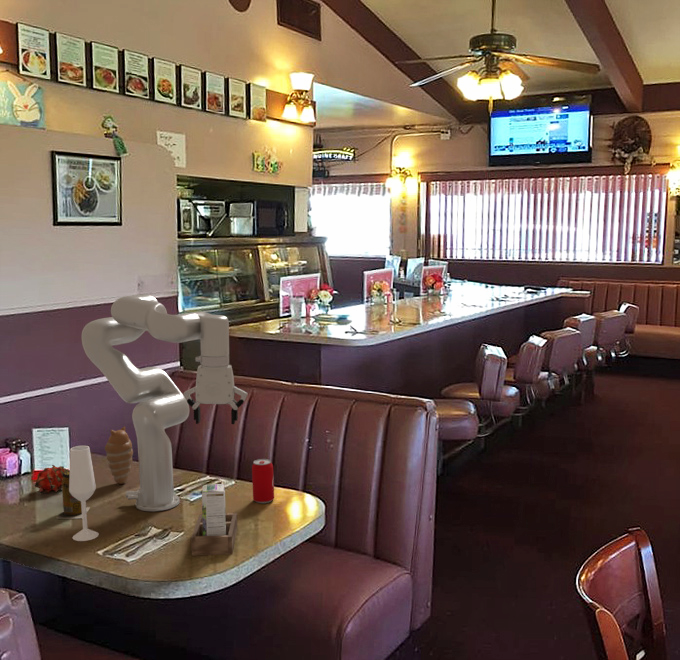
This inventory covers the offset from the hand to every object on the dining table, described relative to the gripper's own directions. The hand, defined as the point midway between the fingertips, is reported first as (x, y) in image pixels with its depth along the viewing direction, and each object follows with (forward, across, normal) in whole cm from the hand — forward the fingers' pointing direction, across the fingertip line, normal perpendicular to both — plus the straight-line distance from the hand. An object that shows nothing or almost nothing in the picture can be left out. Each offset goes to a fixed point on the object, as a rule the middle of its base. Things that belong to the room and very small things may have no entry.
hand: (215, 422), depth 215 cm
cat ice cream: (+30, -35, +32) cm, 56 cm away
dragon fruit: (+30, -55, +25) cm, 68 cm away
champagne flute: (+29, -33, -10) cm, 45 cm away
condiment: (+29, -42, +6) cm, 52 cm away
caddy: (+27, +2, -16) cm, 32 cm away
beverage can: (+28, +12, +14) cm, 33 cm away
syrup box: (+26, +2, -18) cm, 32 cm away
